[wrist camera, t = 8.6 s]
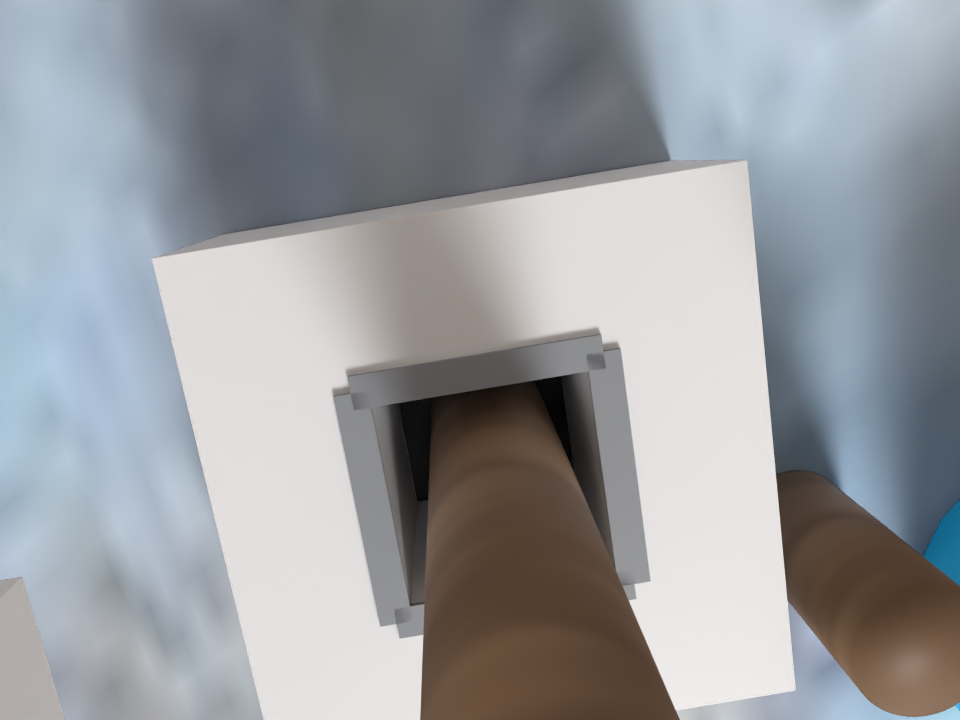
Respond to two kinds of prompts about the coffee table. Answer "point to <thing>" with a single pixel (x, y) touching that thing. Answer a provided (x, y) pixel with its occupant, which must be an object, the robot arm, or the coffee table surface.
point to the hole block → (479, 365)
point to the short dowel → (870, 598)
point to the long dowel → (522, 577)
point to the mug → (947, 547)
